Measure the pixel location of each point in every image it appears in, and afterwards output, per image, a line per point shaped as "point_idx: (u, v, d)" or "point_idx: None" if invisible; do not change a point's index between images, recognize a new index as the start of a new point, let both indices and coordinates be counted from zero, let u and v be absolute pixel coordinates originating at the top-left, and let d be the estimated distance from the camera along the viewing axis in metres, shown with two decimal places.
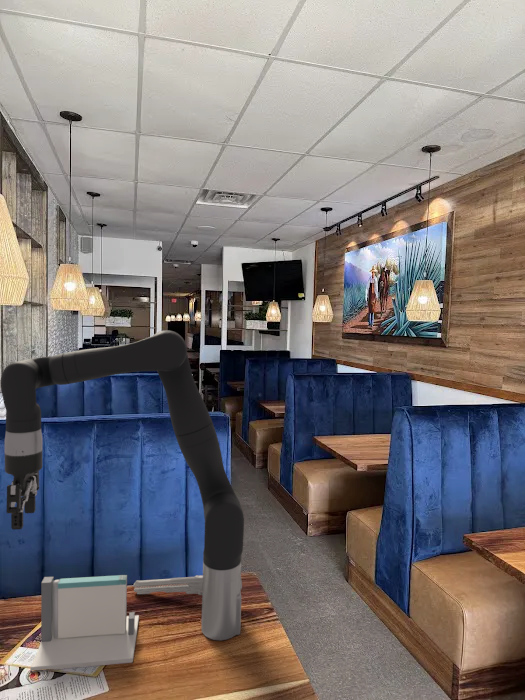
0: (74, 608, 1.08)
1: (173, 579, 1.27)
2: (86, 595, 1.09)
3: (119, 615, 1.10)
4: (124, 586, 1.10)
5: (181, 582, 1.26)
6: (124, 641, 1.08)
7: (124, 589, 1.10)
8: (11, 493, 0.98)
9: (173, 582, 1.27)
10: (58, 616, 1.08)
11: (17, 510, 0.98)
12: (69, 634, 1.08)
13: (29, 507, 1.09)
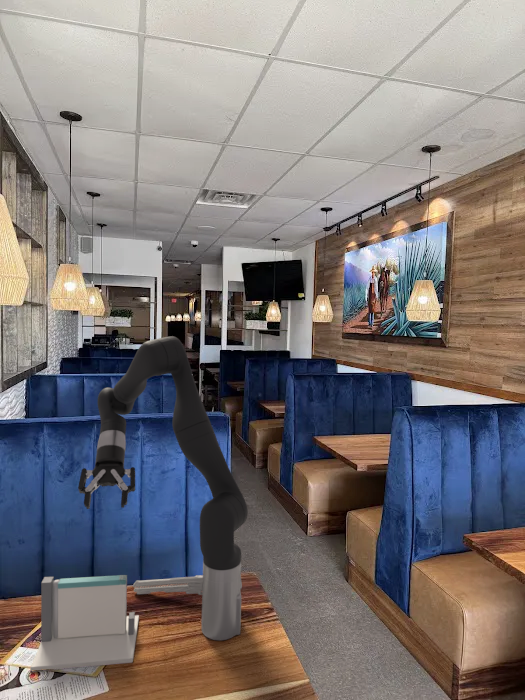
0: (74, 608, 1.08)
1: (173, 579, 1.27)
2: (86, 595, 1.09)
3: (119, 615, 1.10)
4: (124, 586, 1.10)
5: (181, 582, 1.26)
6: (124, 641, 1.08)
7: (124, 589, 1.10)
8: None
9: (173, 582, 1.27)
10: (58, 616, 1.08)
11: None
12: (69, 634, 1.08)
13: None
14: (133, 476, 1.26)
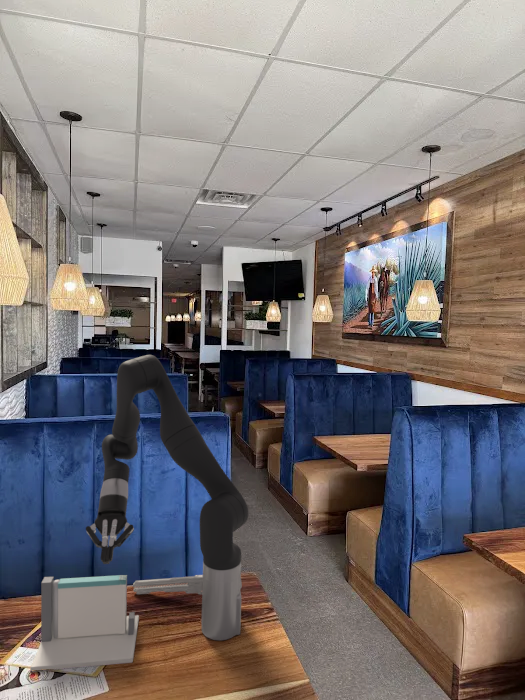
0: (74, 608, 1.08)
1: (173, 579, 1.27)
2: (86, 595, 1.09)
3: (119, 615, 1.10)
4: (124, 586, 1.10)
5: (181, 582, 1.26)
6: (124, 641, 1.08)
7: (124, 589, 1.10)
8: (88, 534, 1.26)
9: (172, 582, 1.27)
10: (58, 616, 1.08)
11: None
12: (69, 634, 1.08)
13: None
14: (125, 533, 1.26)
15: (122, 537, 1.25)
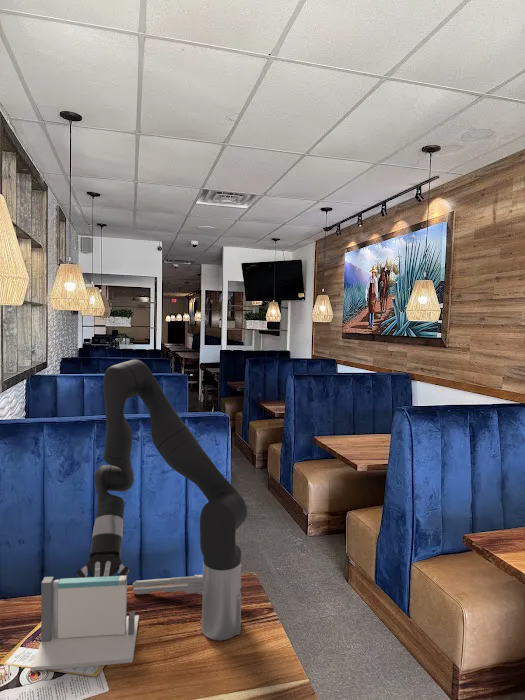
0: (74, 609, 1.08)
1: (172, 579, 1.27)
2: (86, 595, 1.08)
3: (119, 616, 1.10)
4: (124, 587, 1.09)
5: (180, 581, 1.26)
6: (124, 641, 1.08)
7: (124, 590, 1.09)
8: None
9: (172, 581, 1.27)
10: (58, 616, 1.08)
11: None
12: (69, 634, 1.08)
13: None
14: None
15: None
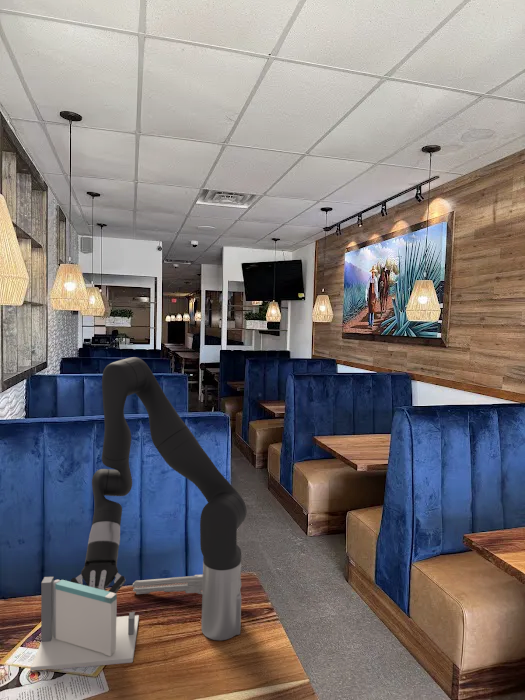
0: (68, 614, 1.06)
1: (172, 578, 1.27)
2: (78, 603, 1.05)
3: (105, 635, 1.03)
4: (109, 605, 1.02)
5: (180, 581, 1.26)
6: (124, 641, 1.08)
7: (109, 608, 1.02)
8: None
9: (172, 581, 1.27)
10: (56, 617, 1.08)
11: None
12: (64, 638, 1.07)
13: None
14: (116, 587, 1.12)
15: (112, 591, 1.11)
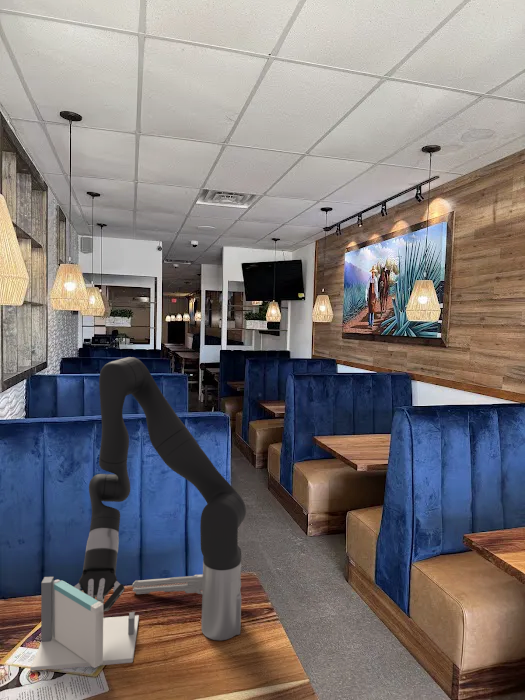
0: (64, 616, 1.05)
1: (172, 578, 1.27)
2: (71, 607, 1.04)
3: (91, 645, 1.00)
4: (94, 615, 0.99)
5: (180, 581, 1.26)
6: (124, 641, 1.08)
7: (94, 618, 0.99)
8: None
9: (172, 581, 1.27)
10: (55, 617, 1.08)
11: None
12: (61, 640, 1.06)
13: None
14: (115, 595, 1.08)
15: (111, 600, 1.08)
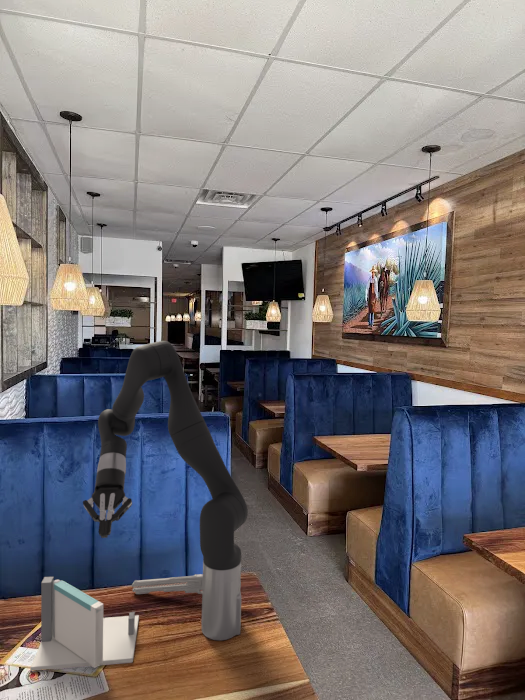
0: (64, 616, 1.05)
1: (172, 578, 1.27)
2: (71, 607, 1.04)
3: (91, 645, 1.00)
4: (94, 615, 0.99)
5: (180, 581, 1.26)
6: (124, 641, 1.08)
7: (94, 618, 0.99)
8: (86, 509, 1.23)
9: (172, 581, 1.27)
10: (55, 617, 1.08)
11: None
12: (61, 640, 1.06)
13: None
14: (124, 507, 1.23)
15: (120, 511, 1.22)
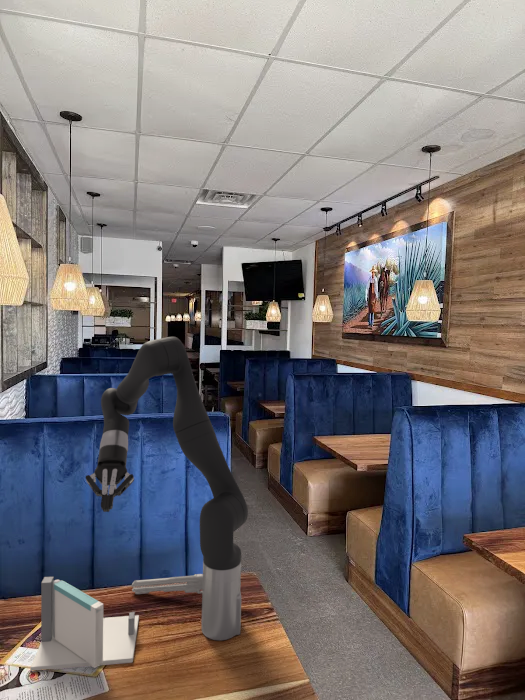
0: (64, 616, 1.05)
1: (172, 578, 1.27)
2: (71, 607, 1.04)
3: (91, 645, 1.00)
4: (94, 615, 0.99)
5: (180, 581, 1.26)
6: (124, 641, 1.08)
7: (94, 618, 0.99)
8: (88, 483, 1.25)
9: (171, 581, 1.27)
10: (55, 617, 1.08)
11: None
12: (61, 640, 1.06)
13: None
14: (126, 482, 1.25)
15: (122, 486, 1.24)
